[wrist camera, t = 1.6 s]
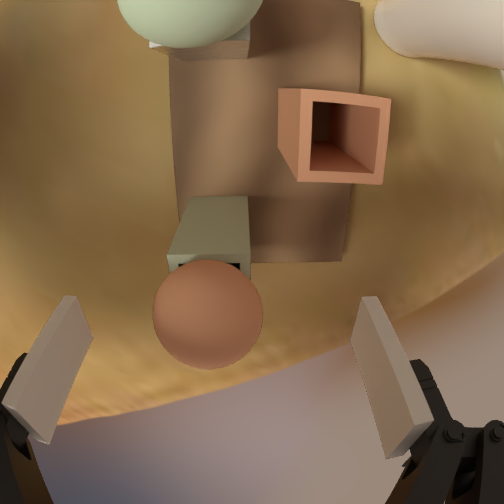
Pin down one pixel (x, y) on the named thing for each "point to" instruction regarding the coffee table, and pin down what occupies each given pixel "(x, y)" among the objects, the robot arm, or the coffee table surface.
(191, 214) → the sage tube
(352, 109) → the terracotta tube
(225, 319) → the terracotta ball
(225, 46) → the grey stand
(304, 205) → the board
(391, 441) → the robot arm
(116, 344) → the coffee table surface
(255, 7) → the sage ball
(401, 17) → the drinking glass
